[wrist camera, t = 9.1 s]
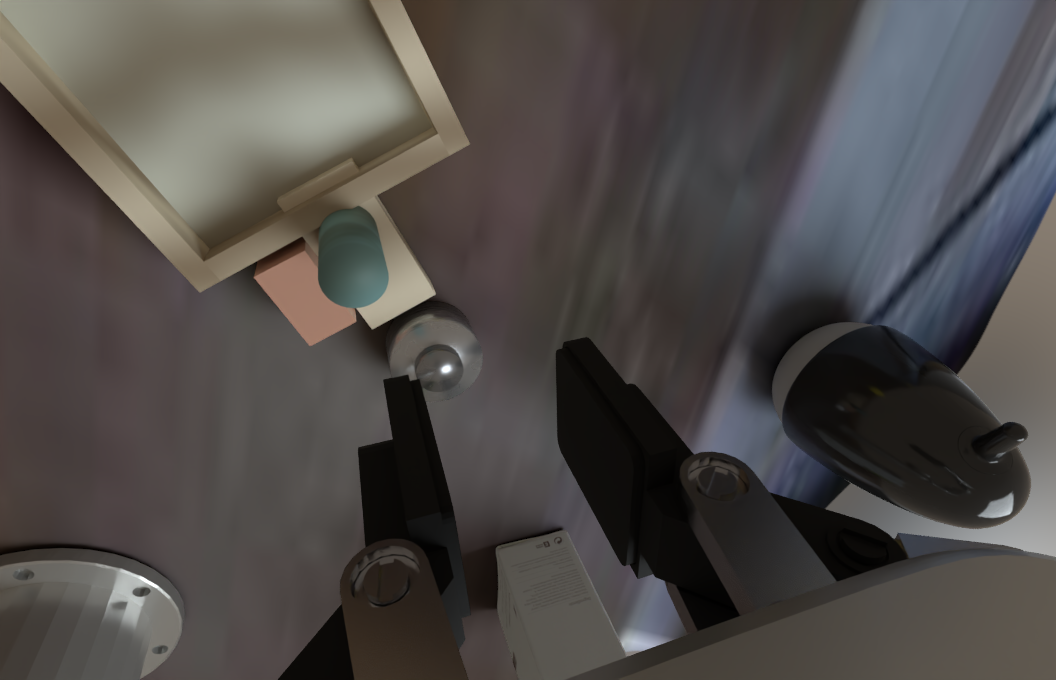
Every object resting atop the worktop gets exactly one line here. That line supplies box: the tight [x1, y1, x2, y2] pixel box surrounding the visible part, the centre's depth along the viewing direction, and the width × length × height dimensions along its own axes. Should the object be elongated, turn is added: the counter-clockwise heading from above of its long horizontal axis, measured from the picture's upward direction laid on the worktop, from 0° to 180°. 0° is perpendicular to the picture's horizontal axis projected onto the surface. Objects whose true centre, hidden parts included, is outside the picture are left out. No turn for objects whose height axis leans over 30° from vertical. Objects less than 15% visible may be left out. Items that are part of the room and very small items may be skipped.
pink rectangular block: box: [254, 237, 356, 346], centre depth 26 cm, size 2×4×3 cm, turn 23°
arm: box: [0, 0, 470, 330], centre depth 21 cm, size 19×13×7 cm
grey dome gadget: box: [772, 322, 1031, 529], centre depth 35 cm, size 10×10×15 cm
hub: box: [386, 302, 483, 402], centre depth 29 cm, size 5×5×3 cm
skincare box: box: [496, 530, 628, 680], centre depth 38 cm, size 8×6×15 cm
